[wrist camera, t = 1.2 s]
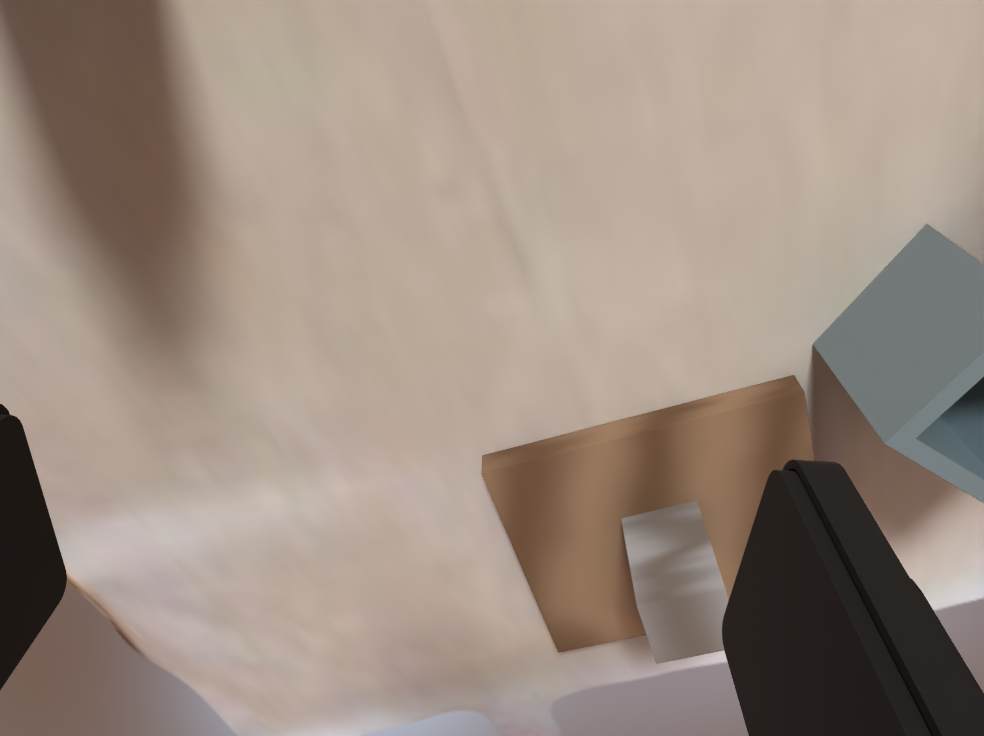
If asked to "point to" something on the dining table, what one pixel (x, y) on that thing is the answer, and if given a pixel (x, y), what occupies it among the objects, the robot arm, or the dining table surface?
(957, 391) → the duct sleeve
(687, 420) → the base
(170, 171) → the dining table surface
